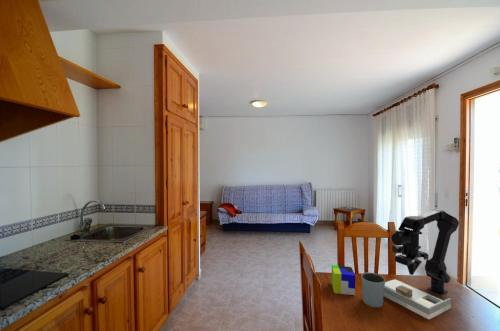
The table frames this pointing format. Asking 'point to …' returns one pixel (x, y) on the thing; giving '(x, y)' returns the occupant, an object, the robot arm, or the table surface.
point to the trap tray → (417, 300)
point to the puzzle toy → (343, 280)
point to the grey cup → (373, 289)
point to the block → (404, 291)
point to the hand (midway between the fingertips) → (411, 274)
